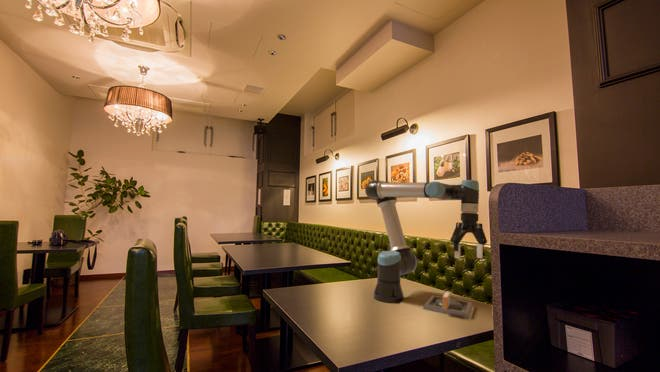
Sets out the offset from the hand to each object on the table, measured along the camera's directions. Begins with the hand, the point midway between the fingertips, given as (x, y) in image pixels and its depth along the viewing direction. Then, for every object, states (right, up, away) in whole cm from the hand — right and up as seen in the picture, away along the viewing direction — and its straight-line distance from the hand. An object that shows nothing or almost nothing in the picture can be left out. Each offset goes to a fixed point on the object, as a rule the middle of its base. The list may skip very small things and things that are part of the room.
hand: (468, 258), depth 134 cm
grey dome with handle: (-12, -22, -5) cm, 26 cm away
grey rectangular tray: (-10, -23, -2) cm, 26 cm away
